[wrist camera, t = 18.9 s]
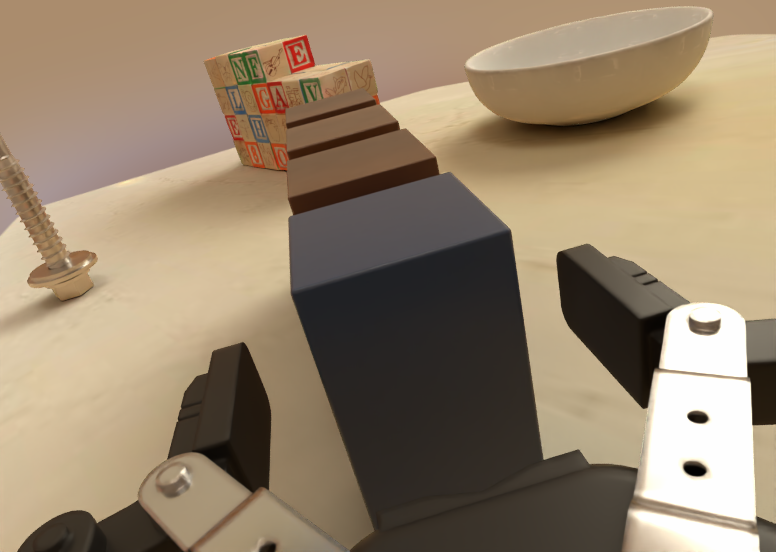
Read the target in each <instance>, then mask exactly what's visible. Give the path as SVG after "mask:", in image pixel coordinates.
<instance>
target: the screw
mask: <svg viewBox="0 0 776 552" xmlns="http://www.w3.org/2000/svg"><path fill="white" fill-rule="evenodd" d="M18 162H19V160H17V159H15V158H14V157H13V155H12V154H11V152H10V150H9V149H8V147H7V145H6V143H5V141H4V139H3V138H2V136H1V134H0V183H1V184H2V186H3V187H4V189H3V190H2V191H6V193H7V194H8V197H7V199H10V200H11V201H12V203H13V205H12V206H13V207H15V208H16V210H17V213H16V214H17V215H19V216H20V217H21V219H22V220H21V221H20V222H23V223H24V224H25V226H26V228H25V229H24V230H28V231H29V233H30V236H29V237H31V238H33V240H34V244H33V245H36V246H37V247H38V249H39V250H38V251H37V252H40V253H41V254H42V256H43V257H42V258H41V259H42V260H45V261H46V263H44V264H42V265H40V266H39V267H37V268H36V269H35V270H33V271H32V272H31V273H30V277H29V278H28V280H27V283H28V284H29V286H30V287H32V288H42V287H46V288H48V289H52V290H53V292H54V293H55V295H56V297H58V298H59V299H60V300H61V301H64V300H68V299H71V298H74V297H77V296H81V295H82V294H83V293H85V292H86V291H87V290H89V289H90V288H92V287H93V286H94V285H93V283H92V281H91V279H90V277H89V275H88V272H89V271H90V269H89V268H91V267H92V266H93V265H94V264H95V263H96V262H97V260H98V258H97V256H96V254H95V253H92V252H89V251H76V252H72V253H70V252H69V251H66V250H65V247H66V244H62V242H61V240H62V237H59V236H58V235H57V233H58V230H57V229H54V228H53V225H54V222H50V220H49V218H50V215H47V214H46V213H45V210H46V207H42V206H41V204H40V203H41V202H42V200H40V199H38V198H37V196H36V195H37V194H38V193H37V192H34V191H33V189H32V187H33V184H29V182H28V180H27V179H28V178H29V176H25V174H24V172H23V171H24V168H21V167H20V165H19V164H18Z"/></svg>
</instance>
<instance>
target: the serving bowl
mask: <svg viewBox="0 0 776 552" xmlns="http://www.w3.org/2000/svg"><path fill="white" fill-rule="evenodd" d="M712 23H713V12H712V11H711V10H710V9H708V8H703V7H665V8H654V9H646V10H638V11H630V12H624V13H618V14H613V15H606V16H601V17H596V18H591V19H586V20H581V21H577V22H572V23H568V24H564V25H560V26H556V27H552V28H548V29H545V30H541V31H537V32H534V33H530V34H527V35H524V36H520V37H517V38H514V39H511V40H508V41H505V42H503V43H500V44H497V45H495V46H492V47H490V48H487V49H485V50H483V51H481V52H479V53H477V54H475V55H474V56H472V57H471V58H469V59H468V60H467V61H466V63H465V66H464V68H465V72H466V75H467V77H468V80H469V83H470V86H471V88H472V90H473V92H474V93H475V95H476V97H477V98H478V99H479V101H480V102H481V103H482V104H483V105H484V106H486V107H487V108H488V109H489V110H490V111H492V112H493V113H495V114H497V115H499V116H501V117H503V118H506V119H509V120H512V121H516V122H522V123H530V124H546V125H553V126H570V125H580V124H587V123H593V122H598V121H602V120H606V119H610V118H613V117H616V116H619V115H621V114H624V113H626V112H628V111H630V110H632V109H635V108H638V107H640V106H643V105H645V104H648V103H650V102H652V101H654V100H656V99H658V98H660V97H662V96H664V95H665V94H667V93H669V92H670V91H672V90H673V89H675V88H676V87H677V86H678V85H680V84H681V83H682V82H683V81H684V80H685V79H686V78H687V77H688V76H689V75H690V74H691V73H692V71H693V70H694V69H695V68H696V66H697V65H698V63H699V62H700V60H701V58H702V56H703V54H704V52H705V50H706V47H707V44H708V41H709V38H710V34H711V28H712Z"/></svg>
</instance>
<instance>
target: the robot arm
mask: <svg viewBox="0 0 776 552" xmlns="http://www.w3.org/2000/svg"><path fill="white" fill-rule="evenodd" d="M556 261H557V271H558V281H559V290H560V300H561V308H562V312H563V315H564V318H565V320H566V322H567V324H568V326H569V327H570V329H571V330H572V331H573V332H574V333H575V334H576V335H577V337H578V338H579V339H580V340H581V341H582V342H583V343H584V344H585V345H586V347H587V348H588V349H589V350H590V351H591V352H592V353H593V354H594V355H595V356H596V358H597V359H598V360H599V361H600V362H601V363H602V364H603V365H604V366H605V368H606V369H607V370H608V371H609V372H610V373H611V374H612V375H613V376H614V377H615V379H616V380H617V381H618V382H619V383H620V384H621V385H622V386H623V387H624V389H625V390H626V391H627V392H628V393H629V394H630V395H631V396H632V397H633V398H634V400H635V401H636V402H637V403H638V404H639V405H640V406H641V407H642V408H643V409H645V408H648V411H647V418H646V424H645V430H644V436H643V442H642V449H641V455H640V461H639V467H638V469H636V468H632V467H627V466H622V465H613V464H588V462H587V461H586V459H585V458H584V456H583V455H582V453H581V452H580V450H579V449H578V450H575V451H572V452H569V453H565V454H562V455H559V456H556V457H552V458H549V459H546V460H543V461H539V462H536V463H533V464H530V465H528V466H526V467H524V468H523V469H521V470H519V471H517V472H516V473H514V474H512V475H510V476H509V477H507V478H505V479H503V480H502V481H500V482H498V483H496V484H495V485H493V486H491V487H489V488H488V489H486V490H483V491H479V492H469V493H458V494H446V495H435V496H425V497H422V498H419V499H416V500H412V501H409V502H406V503H403V504H399V505H396V506H393V507H390V508H386V509H383V510H380V511H376V517H377V523H378V528H379V529H378V530H376V531H374V532H373V533H371V534H369V535H368V536H367V537H365V538H364V539H363V540H361V541H360V542H359V543H358V544H356V545H355V546H354V547H353V548H352V549H351V550H350V551H349V550H348V549H346V548H345V547H344V546H342V545H341V544H340V543H338V542H337V541H336V540H334V539H333V538H332V537H330V536H329V535H328V534H326V533H325V532H324V531H322V530H321V529H320V528H318V527H317V526H316V525H314V524H313V523H312V522H310V521H309V520H308V519H306V518H305V517H304V516H302V515H301V514H300V513H298V512H297V511H296V510H294V509H293V508H292V507H290V506H289V505H288V504H286V503H285V502H284V501H282V500H281V499H280V498H278V497H277V496H276V495H274V494H273V493H272V492H270V491H269V471H270V440H271V409H270V404H269V400H268V396H267V393H266V391H265V388H264V386H263V383H262V381H261V378H260V376H259V374H258V371H257V369H256V366H255V364H254V362H253V359H252V357H251V354H250V352H249V350H248V348H247V346H246V344H245V343H244V342H242V343H238V344H235V345H231V346H228V347H224V348H221V349H218V350H214V351H213V352H212V356H211V361H210V366H209V371H208V373H206V374H203V375H199V376H197V377H196V378H195V379H194V380H193V382H192V383H191V384H190V386H189V387H188V388H187V390H186V391H185V393H184V397H183V401H182V404H181V410H180V412H179V416H178V422H177V424H176V427H175V431H174V435H173V439H172V443H171V447H170V450H169V454H168V458H167V460H166V461H164V462H163V463H161V464H160V465H158V466H157V467H156V468H155V469H153V470H152V471H151V472H150V473H149V474H148V476H147V477H146V478H145V479H144V481H143V482H142V484H141V486H140V488H139V492H138V500H137V501H136V502H135V503H133V504H131V505H130V506H128V507H126V508H124V509H122V510H121V511H119V512H117V513H115V514H113V515H111V516H109V517H108V518H106V519H104V520H102V521H100V522H98V523H97V522H96V521H95V519H94V518H93V517H92V515H91V514H90V513H88V512H86V511H82V510H76V511H70V512H67V513H64V514H61V515H59V516H57V517H55V518H53V519H51V520H49V521H48V522H46V523H45V524H43V525H42V526H41V527H39V528H38V529H37V530H36V531H34V532H33V533H32V534H31V535H30V536H29V537H28V538H27V539H26V540H25V542H24V543H23V544H22V545H21V547H20V548H19V550H18V551H17V552H776V524H774V523H772V522H769V521H767V520H765V519H762V518H760V517H757V516H756V506H755V482H754V457H753V432H752V425H773V424H776V319H765V320H753V321H745V320H744V318H743V317H742V316H741V315H740V314H739V313H738V312H737V311H735V310H733V309H731V308H729V307H726V306H723V305H719V304H713V303H690V302H688V301H687V300H686V299H684V298H683V297H681V296H680V295H679V294H677V293H676V292H674V291H673V290H672V289H670V288H669V287H668V286H666V285H665V284H663V283H662V282H661V281H659V282H658V280H657V279H656V278H655V277H654V276H652V275H651V274H647V272H646V271H645V270H644V269H642V268H641V267H640V266H638V265H637V264H635V263H634V262H632V261H628V260H625V259H622V258H619V257H615V256H612V257H609V258H607V257H606V256H604V255H603V254H602V253H600V252H599V251H598V250H597V249H595V248H594V247H593V246H591V245H590V244H584V245H581V246H577V247H574V248H570V249H567V250H563V251H560V252H558V254H557V260H556Z"/></svg>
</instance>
